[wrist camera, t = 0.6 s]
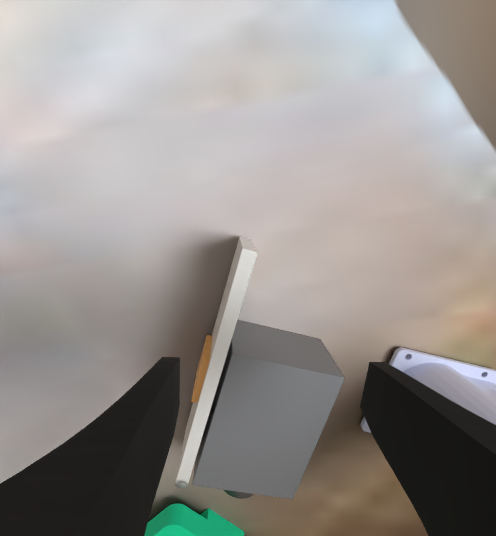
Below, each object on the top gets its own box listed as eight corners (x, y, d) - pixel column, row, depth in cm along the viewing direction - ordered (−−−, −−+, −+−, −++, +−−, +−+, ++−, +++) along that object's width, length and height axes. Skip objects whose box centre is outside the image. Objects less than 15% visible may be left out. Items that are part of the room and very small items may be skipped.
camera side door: (251, 239, 18) (257, 252, 14) (194, 433, 22) (186, 489, 17) (233, 234, 18) (235, 246, 14) (179, 431, 21) (168, 486, 17)
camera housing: (320, 339, 20) (345, 378, 16) (276, 452, 23) (287, 511, 19) (231, 318, 19) (232, 353, 15) (196, 439, 22) (188, 498, 18)
